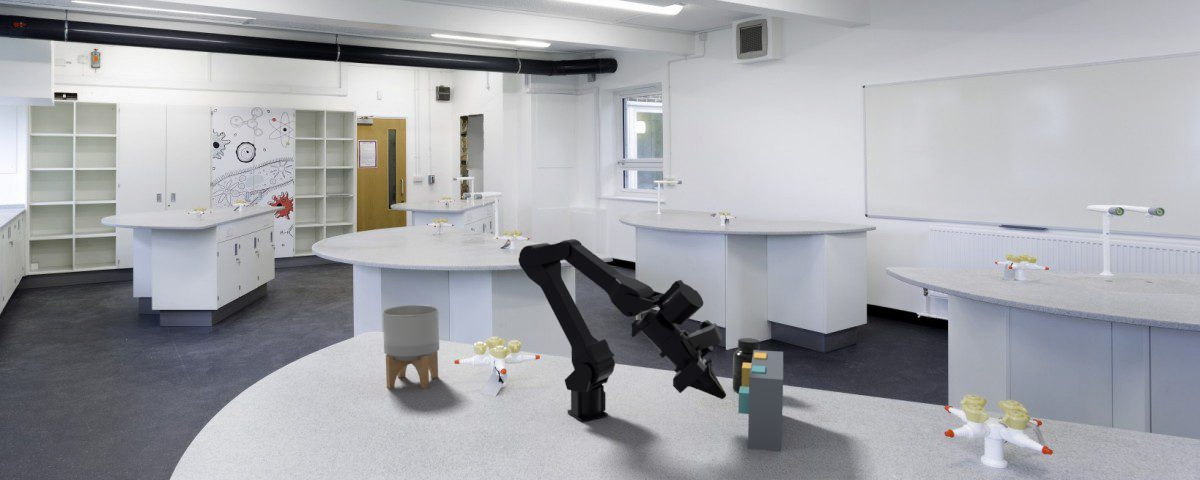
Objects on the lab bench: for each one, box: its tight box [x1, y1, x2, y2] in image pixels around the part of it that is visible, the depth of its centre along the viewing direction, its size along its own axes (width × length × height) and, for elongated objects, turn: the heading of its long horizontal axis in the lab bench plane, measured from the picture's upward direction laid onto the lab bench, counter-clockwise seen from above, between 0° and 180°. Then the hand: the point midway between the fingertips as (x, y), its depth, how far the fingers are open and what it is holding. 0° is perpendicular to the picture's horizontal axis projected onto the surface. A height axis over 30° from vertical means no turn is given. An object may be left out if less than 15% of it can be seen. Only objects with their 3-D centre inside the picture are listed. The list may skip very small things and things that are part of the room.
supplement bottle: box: [732, 337, 760, 394], centre depth 164 cm, size 7×7×12 cm
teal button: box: [738, 386, 749, 415], centre depth 135 cm, size 4×4×4 cm
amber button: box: [742, 363, 752, 387], centre depth 144 cm, size 4×4×4 cm
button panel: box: [747, 349, 784, 452], centre depth 139 cm, size 6×20×14 cm, turn 166°
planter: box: [382, 304, 440, 389], centre depth 171 cm, size 13×13×18 cm
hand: (724, 397), depth 136 cm, fingers closed
